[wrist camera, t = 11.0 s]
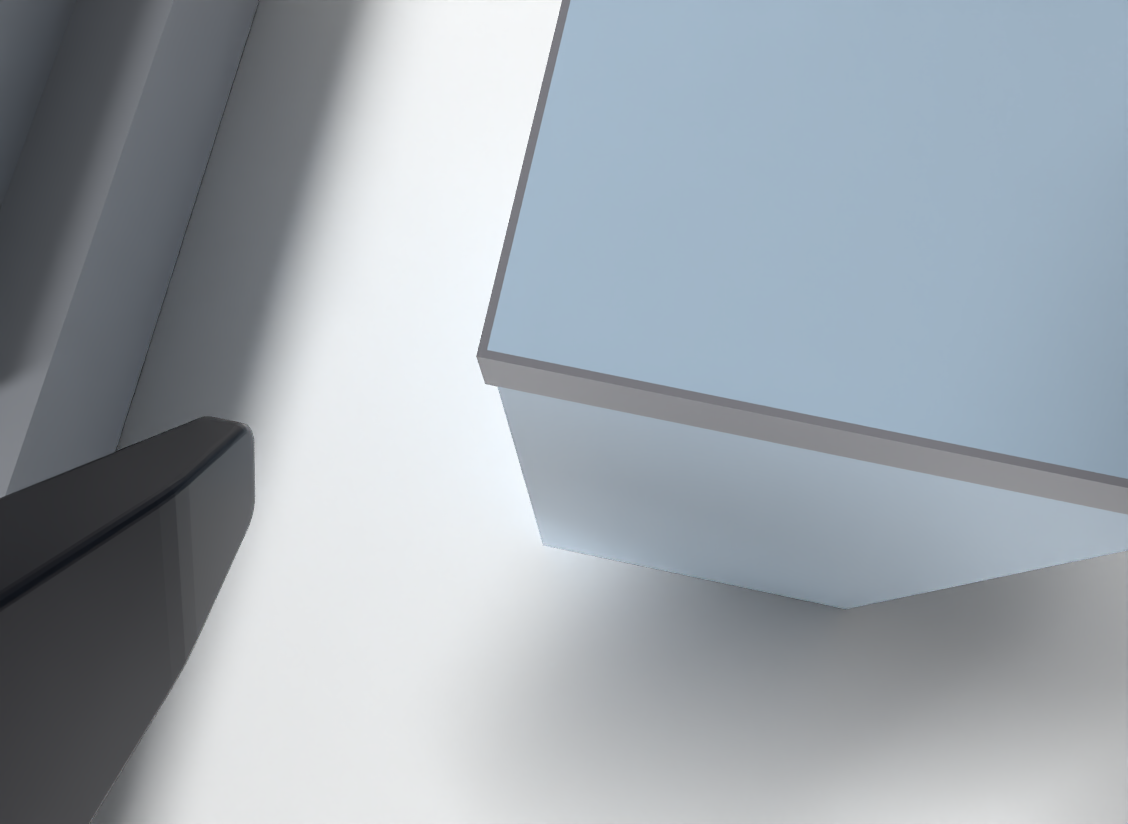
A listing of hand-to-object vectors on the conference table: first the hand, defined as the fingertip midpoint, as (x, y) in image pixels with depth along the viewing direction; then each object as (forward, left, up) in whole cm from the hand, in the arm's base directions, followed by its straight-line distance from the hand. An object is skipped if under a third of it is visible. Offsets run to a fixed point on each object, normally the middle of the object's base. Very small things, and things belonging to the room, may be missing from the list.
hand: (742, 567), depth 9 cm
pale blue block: (+3, +1, -6) cm, 7 cm away
